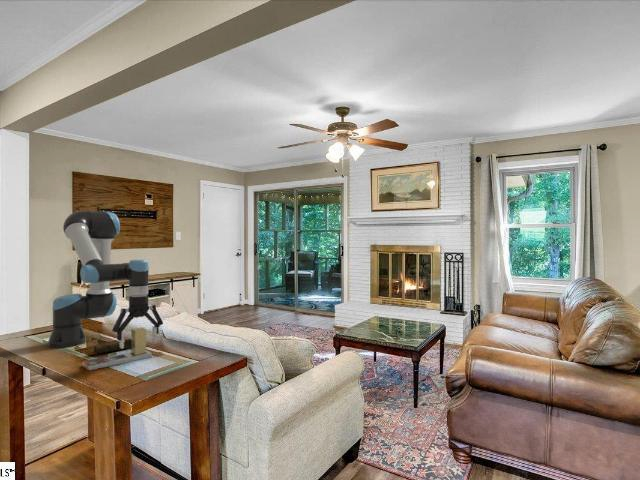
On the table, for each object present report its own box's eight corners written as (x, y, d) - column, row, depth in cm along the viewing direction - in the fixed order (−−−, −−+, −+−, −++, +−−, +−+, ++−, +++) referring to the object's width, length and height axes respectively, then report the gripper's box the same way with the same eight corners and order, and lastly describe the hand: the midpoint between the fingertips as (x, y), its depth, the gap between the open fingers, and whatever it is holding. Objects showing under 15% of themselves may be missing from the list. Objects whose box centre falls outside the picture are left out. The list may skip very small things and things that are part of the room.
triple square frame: (82, 365, 149) (82, 361, 149) (144, 352, 167) (144, 348, 167) (88, 370, 144) (88, 366, 144) (151, 356, 161) (151, 352, 161)
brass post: (131, 356, 161) (131, 329, 161) (141, 354, 164) (141, 327, 164) (135, 359, 158) (135, 330, 158) (145, 356, 161) (145, 329, 161)
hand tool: (95, 356, 162) (95, 345, 162) (93, 354, 165) (93, 343, 165) (141, 348, 174) (141, 338, 174) (139, 346, 177) (139, 336, 177)
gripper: (110, 299, 149) (109, 352, 149) (170, 293, 168) (170, 340, 168) (103, 297, 155) (103, 348, 155) (163, 291, 173) (163, 337, 173)
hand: (138, 344), depth 161 cm, fingers open, 13 cm apart
